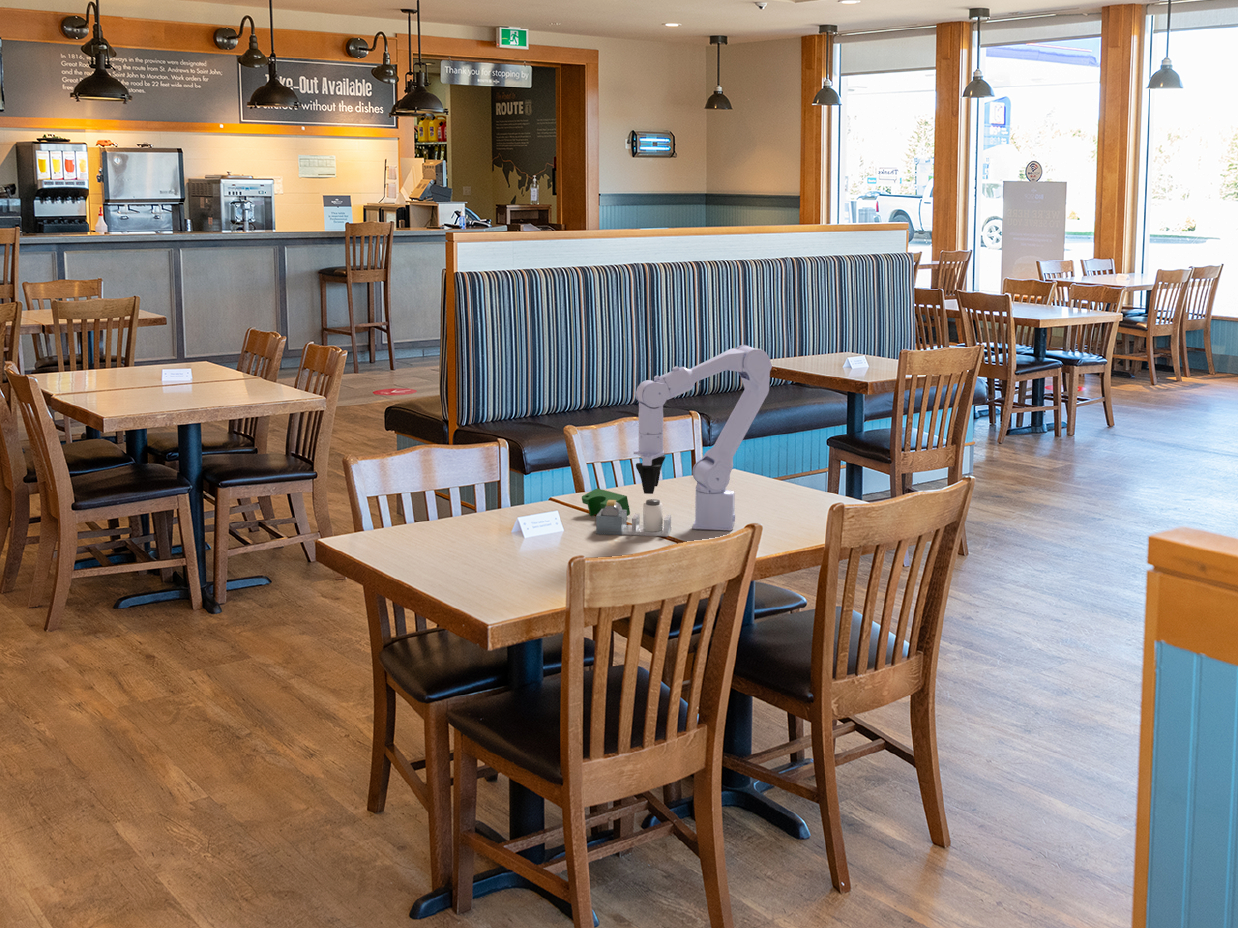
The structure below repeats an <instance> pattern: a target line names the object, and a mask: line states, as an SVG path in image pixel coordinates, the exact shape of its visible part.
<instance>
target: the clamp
mask: <svg viewBox="0 0 1238 928" xmlns="http://www.w3.org/2000/svg"><path fill="white" fill-rule="evenodd" d="M608 500H616V502H618V503H619V504H620V505H621V507H622V509H623V510H627V517H628V516H630V514H631V511H630V505H629V501H628V496H627V495H625V494H621V493H617V492H613V491H609V490H606V489H602V488H598V487H597V488H595V489H593V490H590V491H589V492H587V493H585V494H583V495H582V496H581V501H582V502H581V503H583V505H587V508H588V513H589V517H593V516H595V515H597V514H598V513H599V512H600V510H601V509H604V508H605V507H606V505H607V501H608Z"/></svg>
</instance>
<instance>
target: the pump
mask: <svg viewBox="0 0 1238 928" xmlns="http://www.w3.org/2000/svg"><path fill="white" fill-rule="evenodd" d="M663 506H664V505H663V503H662V502H661V501H660V500H659V499H654V498H652V499H646V501H645V502H644V503H643V504H642V507H643V510H642V513H643V514H642V515H643V522H642V524H643V525H642V526H643V529H644V530H645V531H661V530H662V529H663V526H664V519H663V509H664V508H663Z"/></svg>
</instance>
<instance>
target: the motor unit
mask: <svg viewBox="0 0 1238 928" xmlns="http://www.w3.org/2000/svg"><path fill="white" fill-rule="evenodd" d="M627 517H628V516H627V510H623V509H622V507H621V505H620V504H619V503H618V502H616V500H608V501H607V505H606V507H605V508H604V509H601V510H600V512H599V513H598V514H596V516H595V522H596V523H595V525H596V528H595V529H596V530H595V531H596V533H595V534H596V535H611V536H624V535H625V536H627V535H628V536H645V537H646V536H649V537H650V536H651V537H669V535H670V533H671V531H672V515H671V514H666V516H665V517H664V519H663V529H662V530H661V531H645V530H644V529H643V525H641V524H640V513H635V514H633V516H632V518H631V524H628V521H627V520H628V518H627Z"/></svg>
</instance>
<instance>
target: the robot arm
mask: <svg viewBox="0 0 1238 928" xmlns="http://www.w3.org/2000/svg"><path fill="white" fill-rule="evenodd" d="M772 368H773V365H772V362H771V359H770V356H769V355H768V354H767V352H766V351H765V350H763V349H761V348H755V347H752V346H750V345H747V344H741V345H738V346H737V347H733V348H730V349H729V348H728V349H727V350H725V351H724V352H722V353H720V354H718V355H715V356H714V357H712V358H709V359H707V360H706V361H704V362H701V363H700V364H697V365H695V366H693V367H691V368H687V367H685V366H681V367H679V366H678V365H677V366H676V365H675V366H674V367H672V368H671V371H669V372H667V373H664V374H662V375H660V376H659V375H655V376H654V377H653V380H650V379H647V380H643V381H641V382H640V383H639V385H638V386H637V388H636V391H635V392H634V395H635V399H636V401H638V449H634V450H633V455H638V456H639V457H640V459H641V462H636V464H635V468H636V470H637V471H638V475H639V477H640V480H641V485H642V490H643V494H646V495H653V494H654V492H655V488H656V487H658V485H659V481H660V475H661V470H662V467H663V463H664V461H665V459H666V455H665V451H664V405H665V403H666V402H667V401H668V400H670V399H673V398H675V397H678V396H681V395H682V394H685V393H687V392H689V391H691V390H693V388H694V385H696V384H695V383H696V382H699V381H701V380H704V379H706V378H708V377H709V378H710V377H712V376H715V375H718V374H720V373H722V372H724V371H725V372H726V371H732V372H737V373H738V375H739V376H740V379H741V381H742V385H743V389H744V390H743V392H742V393H741V395H740V397H739V399H738V401H737V403H736V404H735V407H734V409H733V410H732V411H731V413H730V416H729V417H728V419H727V420H726V423H725V425H724V426H723V428H722V430H721V432H720V434H719V436H718V437H717V439H716V440H715V442H714V444H713V446H712V447H711V448H709V449H708V450H706V452H705V453H704V455H703V456H702V457H701V459H699V460H698V461H697V462H696V463H695V464H694V465H693V467H692V470H691V471H692V477H693V480H695V482H696V485H695V502H694V503H695V505H694V506H695V507H694V508H695V511H694V512H695V515H694V521H693V524H692V526H691V529H692V530H708V531H709V530H710V531H711V530H713V531H732V530H733V529H734V528H733V527H734V525H735V522H736V514H735V511H736V510H735V509H736V508H735V502H736V501H735V500H736V498H735V497H736V496H735V495H736V493H735V491H734V490H729V489H727V487H728V485H729V483H730V479H731V478H730V476H731V472H732V470H733V468H734V456H735V455H736V453H737V450H739V449H738V448H740V445H741V444H742V442H743V440H744V438H745V437H746V435H747V433H748V431H749V429H750V427H751V426H752V423H753V422H754V420H755V418H756V416H757V414H758V413H759V411H760V409H761V407H762V405H763V403H764V401H765V399H766V398H767V396H768V395H769V392H770V374H771V370H772Z"/></svg>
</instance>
